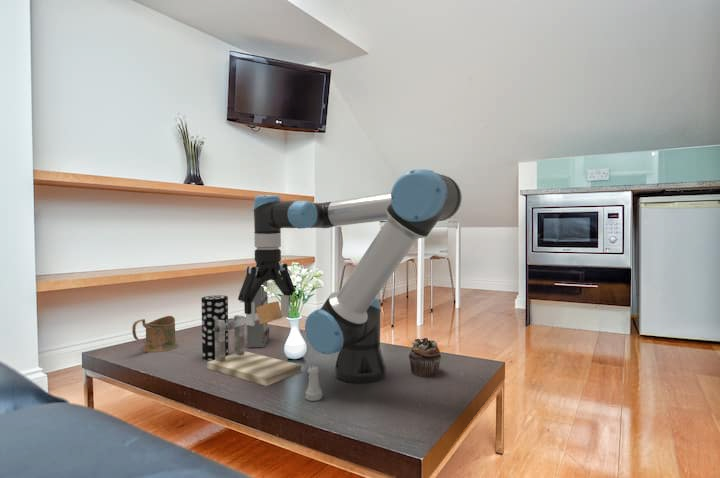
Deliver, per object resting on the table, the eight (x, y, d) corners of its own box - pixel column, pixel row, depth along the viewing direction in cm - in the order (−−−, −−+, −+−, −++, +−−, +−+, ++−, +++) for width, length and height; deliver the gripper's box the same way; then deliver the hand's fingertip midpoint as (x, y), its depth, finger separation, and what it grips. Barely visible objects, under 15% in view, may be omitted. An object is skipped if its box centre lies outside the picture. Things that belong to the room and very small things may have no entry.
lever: (282, 317, 123) (278, 301, 124) (273, 319, 120) (269, 302, 121) (233, 333, 136) (229, 318, 137) (224, 335, 133) (220, 320, 134)
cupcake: (447, 372, 125) (447, 339, 125) (426, 380, 119) (426, 345, 119) (423, 364, 133) (423, 333, 132) (401, 371, 126) (401, 338, 126)
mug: (120, 355, 144) (120, 320, 143) (160, 342, 160) (159, 310, 160) (147, 358, 140) (147, 322, 140) (185, 344, 157) (184, 312, 156)
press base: (301, 371, 127) (300, 323, 126) (266, 386, 115) (266, 333, 115) (243, 356, 141) (242, 313, 141) (207, 368, 130) (206, 321, 129)
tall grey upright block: (264, 347, 152) (263, 278, 151) (246, 348, 152) (246, 278, 151) (269, 337, 166) (269, 274, 165) (254, 338, 166) (253, 274, 165)
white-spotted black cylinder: (232, 353, 146) (231, 295, 145) (222, 360, 137) (221, 299, 137) (209, 352, 146) (208, 295, 146) (197, 360, 138) (196, 299, 138)
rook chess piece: (301, 398, 107) (301, 366, 107) (315, 393, 110) (315, 362, 110) (312, 403, 104) (312, 371, 104) (326, 398, 107) (326, 366, 107)
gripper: (288, 246, 136) (289, 312, 137) (224, 250, 115) (225, 327, 116) (305, 247, 132) (306, 314, 132) (242, 250, 111) (243, 331, 112)
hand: (268, 320), depth 124 cm, fingers open, 13 cm apart
